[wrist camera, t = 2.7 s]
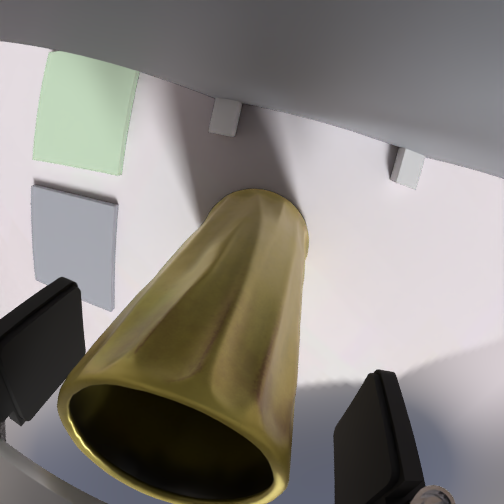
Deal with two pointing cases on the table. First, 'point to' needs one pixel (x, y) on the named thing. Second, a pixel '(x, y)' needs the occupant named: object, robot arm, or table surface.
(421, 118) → the screen
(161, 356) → the vase
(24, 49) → the table surface
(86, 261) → the pad slate
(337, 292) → the table surface
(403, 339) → the table surface
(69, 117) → the pad sage
